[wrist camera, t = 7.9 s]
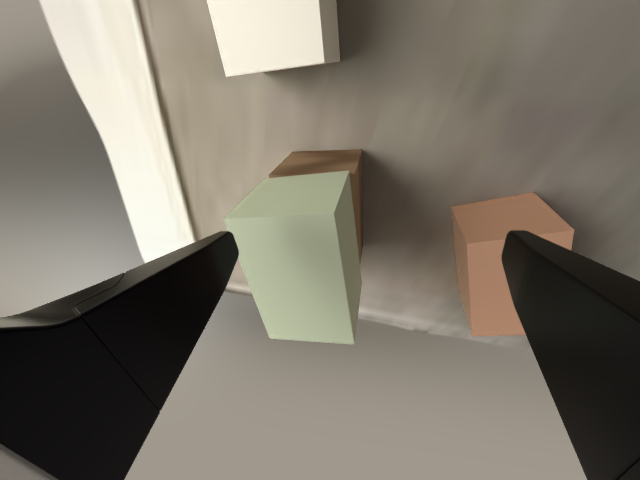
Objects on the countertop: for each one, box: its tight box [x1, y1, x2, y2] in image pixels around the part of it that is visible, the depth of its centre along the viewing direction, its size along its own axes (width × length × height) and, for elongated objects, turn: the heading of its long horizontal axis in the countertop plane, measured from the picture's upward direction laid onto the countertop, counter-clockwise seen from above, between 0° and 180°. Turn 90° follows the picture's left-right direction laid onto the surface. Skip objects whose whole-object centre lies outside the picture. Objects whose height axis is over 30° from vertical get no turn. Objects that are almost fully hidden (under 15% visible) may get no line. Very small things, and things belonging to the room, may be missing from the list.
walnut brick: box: [269, 149, 363, 263], centre depth 20 cm, size 5×8×5 cm, turn 5°
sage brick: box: [223, 171, 362, 344], centre depth 16 cm, size 5×8×5 cm, turn 9°
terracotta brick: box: [451, 192, 574, 336], centre depth 19 cm, size 5×8×5 cm, turn 17°
